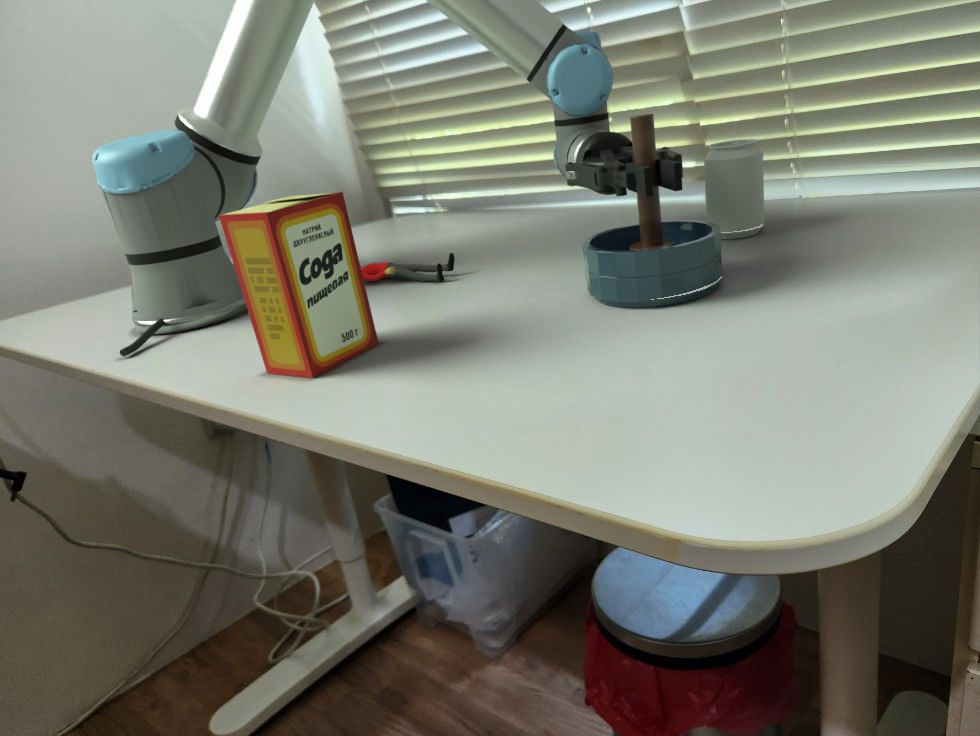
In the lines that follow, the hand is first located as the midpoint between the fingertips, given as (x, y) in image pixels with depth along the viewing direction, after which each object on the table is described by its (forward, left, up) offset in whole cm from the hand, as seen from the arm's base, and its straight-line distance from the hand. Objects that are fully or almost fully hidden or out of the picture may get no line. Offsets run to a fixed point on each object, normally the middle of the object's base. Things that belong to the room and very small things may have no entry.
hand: (663, 179), depth 75 cm
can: (+27, -8, -12) cm, 31 cm away
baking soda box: (-12, +35, -12) cm, 39 cm away
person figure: (+19, +39, -12) cm, 45 cm away
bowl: (+3, +2, -12) cm, 12 cm away
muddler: (+5, +2, -9) cm, 11 cm away
